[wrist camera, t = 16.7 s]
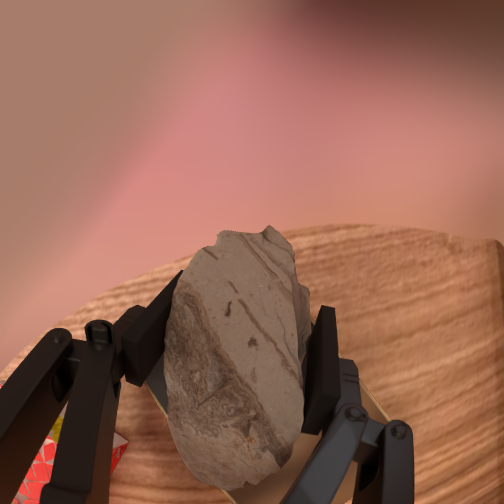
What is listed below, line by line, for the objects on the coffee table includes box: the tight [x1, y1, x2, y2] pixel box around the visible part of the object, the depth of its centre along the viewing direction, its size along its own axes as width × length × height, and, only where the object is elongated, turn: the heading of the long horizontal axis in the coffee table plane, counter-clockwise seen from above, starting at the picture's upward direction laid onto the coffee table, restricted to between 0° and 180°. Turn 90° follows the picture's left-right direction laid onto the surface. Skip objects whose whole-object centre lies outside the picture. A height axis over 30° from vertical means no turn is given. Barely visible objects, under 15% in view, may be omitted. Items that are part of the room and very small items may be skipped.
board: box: [144, 315, 392, 504], centre depth 19 cm, size 18×13×1 cm
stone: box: [164, 226, 311, 491], centre depth 16 cm, size 15×9×10 cm
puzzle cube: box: [0, 380, 128, 504], centre depth 15 cm, size 8×8×8 cm
